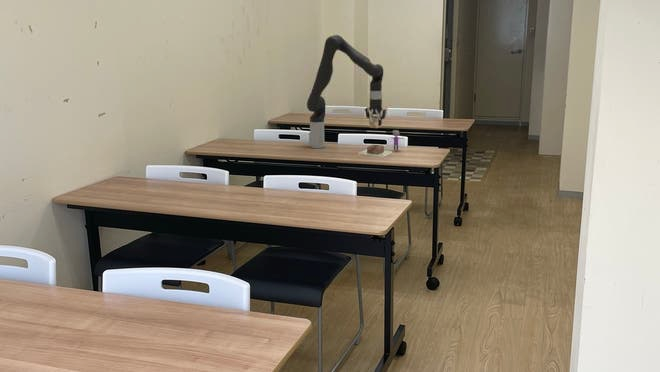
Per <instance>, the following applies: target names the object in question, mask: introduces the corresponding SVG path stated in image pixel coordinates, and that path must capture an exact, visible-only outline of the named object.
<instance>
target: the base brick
mask: <svg viewBox="0 0 660 372" xmlns="http://www.w3.org/2000/svg"><path fill="white" fill-rule="evenodd" d="M366 149H367V153H368V154H377V155H379V154H381V153H383V152H384V151H385V145H380V144H373V143H372V144H371V145H369V146H367V147H366Z"/></svg>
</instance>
